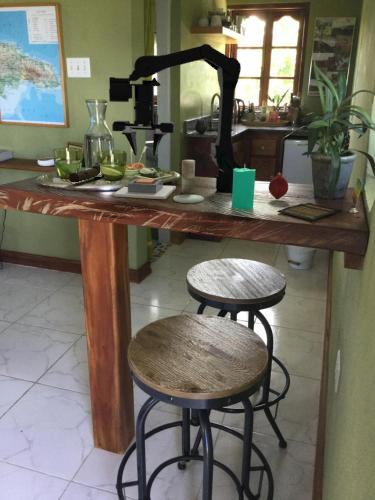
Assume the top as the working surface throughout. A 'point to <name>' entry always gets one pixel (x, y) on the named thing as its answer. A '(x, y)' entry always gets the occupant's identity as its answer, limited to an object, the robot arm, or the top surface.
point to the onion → (278, 186)
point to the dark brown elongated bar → (84, 174)
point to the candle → (243, 188)
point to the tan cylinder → (188, 176)
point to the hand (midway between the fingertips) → (145, 155)
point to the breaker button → (146, 181)
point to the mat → (188, 198)
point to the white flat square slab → (145, 190)
